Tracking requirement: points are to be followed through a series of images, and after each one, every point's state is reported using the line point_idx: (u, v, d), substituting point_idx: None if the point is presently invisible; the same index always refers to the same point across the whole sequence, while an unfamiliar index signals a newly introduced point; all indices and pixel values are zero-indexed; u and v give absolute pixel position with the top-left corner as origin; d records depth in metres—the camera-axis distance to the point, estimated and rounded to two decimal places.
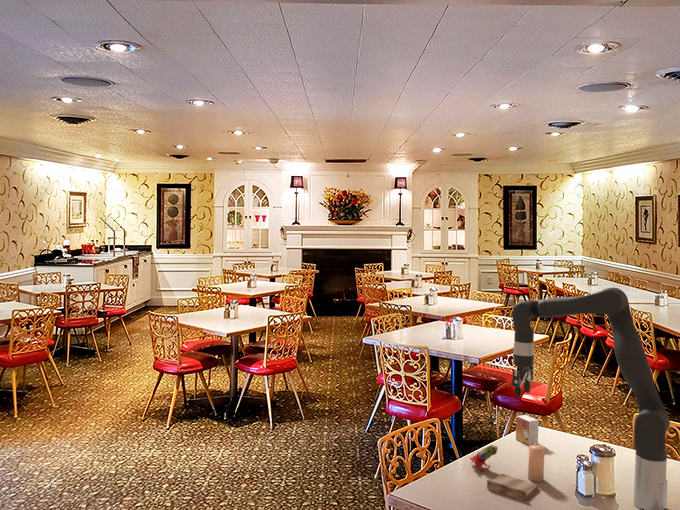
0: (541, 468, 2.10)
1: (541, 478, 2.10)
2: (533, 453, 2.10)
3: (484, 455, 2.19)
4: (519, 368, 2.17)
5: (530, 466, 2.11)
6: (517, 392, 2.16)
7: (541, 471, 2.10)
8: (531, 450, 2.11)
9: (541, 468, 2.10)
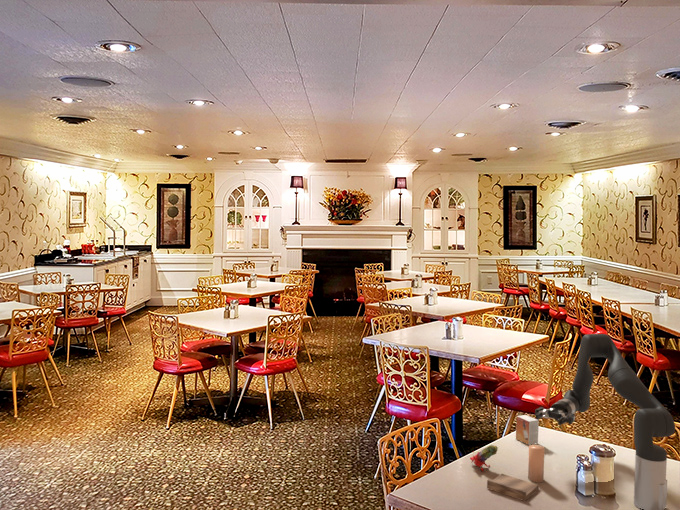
0: (541, 468, 2.10)
1: (541, 478, 2.10)
2: (533, 453, 2.10)
3: (484, 455, 2.19)
4: None
5: (530, 466, 2.11)
6: None
7: (541, 471, 2.10)
8: (531, 450, 2.11)
9: (541, 468, 2.10)
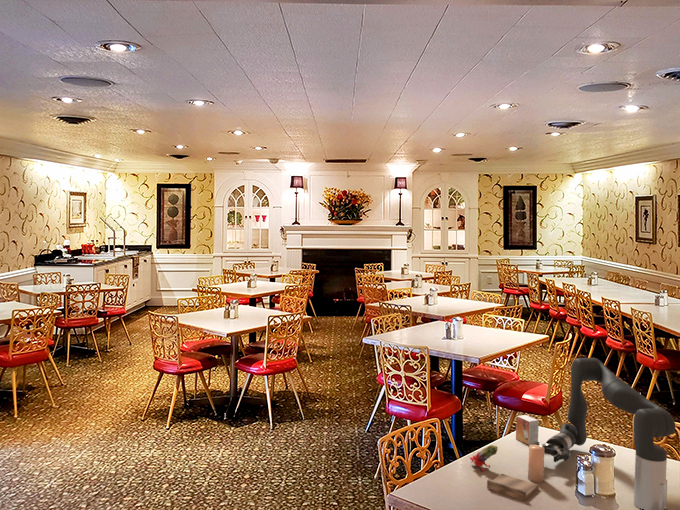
0: (541, 468, 2.10)
1: (541, 478, 2.10)
2: (533, 453, 2.10)
3: (484, 455, 2.19)
4: None
5: (530, 466, 2.11)
6: None
7: (541, 471, 2.10)
8: (531, 450, 2.11)
9: (541, 468, 2.10)
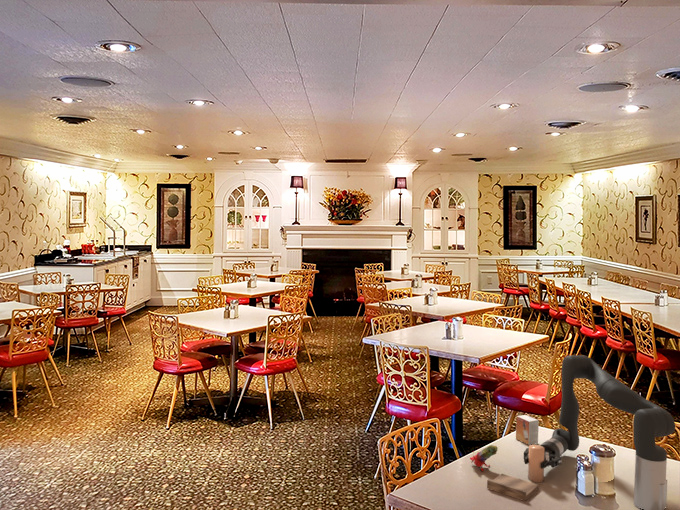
0: None
1: (541, 478, 2.10)
2: (533, 453, 2.10)
3: (484, 455, 2.19)
4: None
5: (530, 466, 2.11)
6: None
7: (541, 471, 2.10)
8: (531, 450, 2.11)
9: None
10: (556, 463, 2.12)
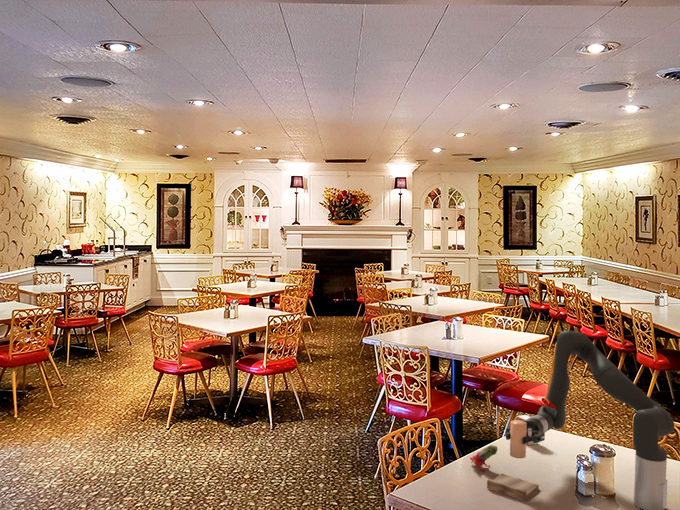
0: None
1: (523, 454, 2.04)
2: (514, 428, 2.04)
3: (484, 455, 2.19)
4: None
5: (512, 442, 2.05)
6: None
7: (523, 447, 2.04)
8: (513, 425, 2.04)
9: (522, 444, 2.03)
10: (539, 439, 2.05)
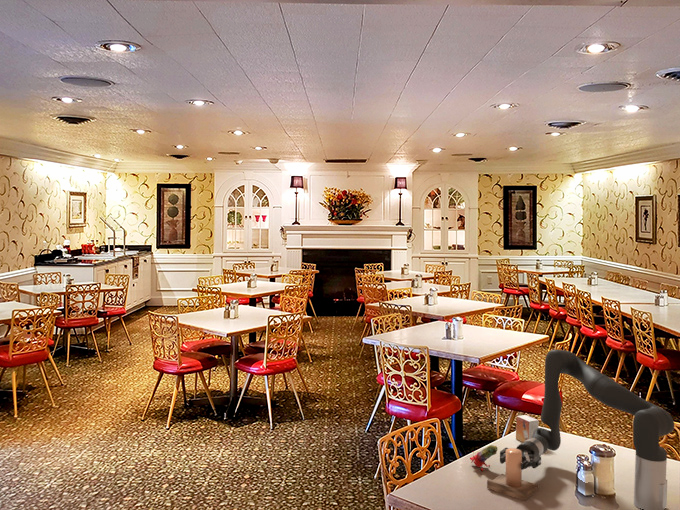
0: (519, 472, 2.02)
1: (519, 483, 2.02)
2: (510, 458, 2.02)
3: (484, 455, 2.19)
4: None
5: (507, 471, 2.03)
6: None
7: (519, 476, 2.02)
8: (508, 454, 2.03)
9: (518, 473, 2.02)
10: (536, 463, 2.04)
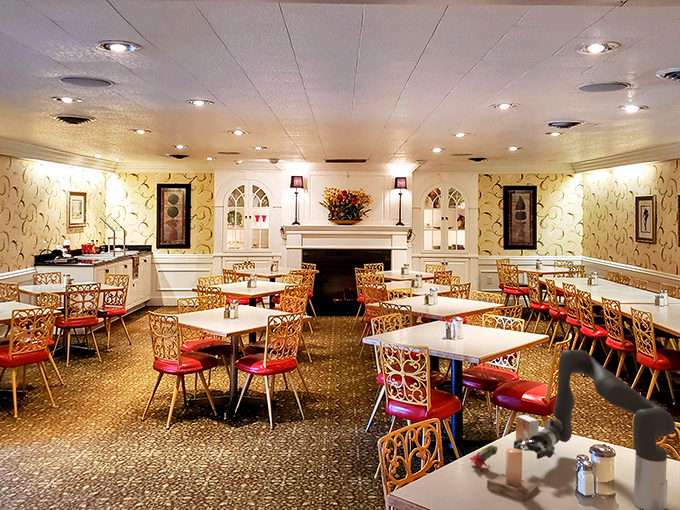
0: (519, 472, 2.02)
1: (519, 483, 2.02)
2: (510, 457, 2.02)
3: (484, 455, 2.19)
4: None
5: (507, 470, 2.04)
6: None
7: (519, 476, 2.02)
8: (508, 454, 2.03)
9: (518, 473, 2.02)
10: (551, 453, 2.14)
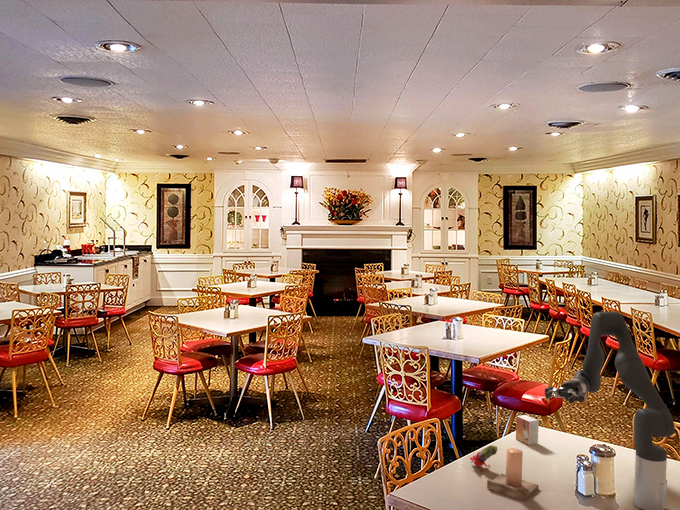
0: (519, 472, 2.02)
1: (519, 483, 2.02)
2: (510, 457, 2.02)
3: (484, 455, 2.19)
4: None
5: (507, 470, 2.03)
6: None
7: (519, 476, 2.02)
8: (508, 454, 2.03)
9: (518, 473, 2.02)
10: (583, 398, 2.14)
